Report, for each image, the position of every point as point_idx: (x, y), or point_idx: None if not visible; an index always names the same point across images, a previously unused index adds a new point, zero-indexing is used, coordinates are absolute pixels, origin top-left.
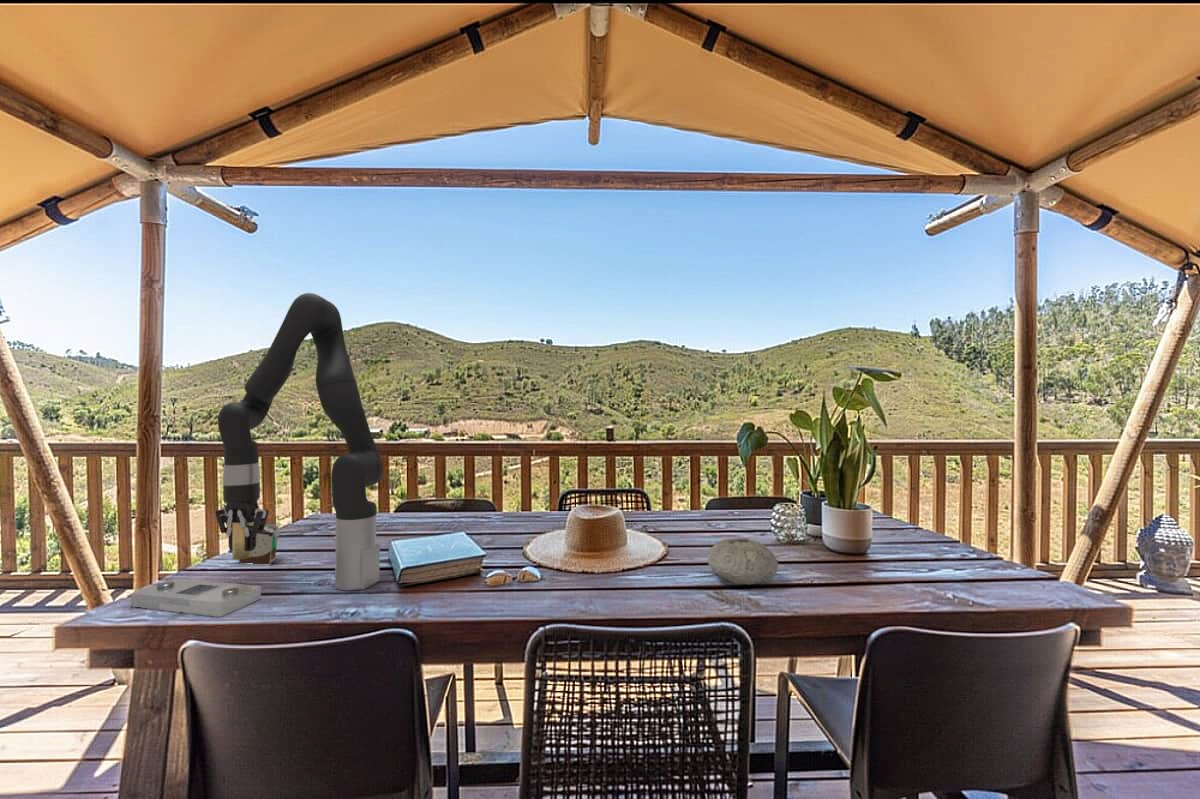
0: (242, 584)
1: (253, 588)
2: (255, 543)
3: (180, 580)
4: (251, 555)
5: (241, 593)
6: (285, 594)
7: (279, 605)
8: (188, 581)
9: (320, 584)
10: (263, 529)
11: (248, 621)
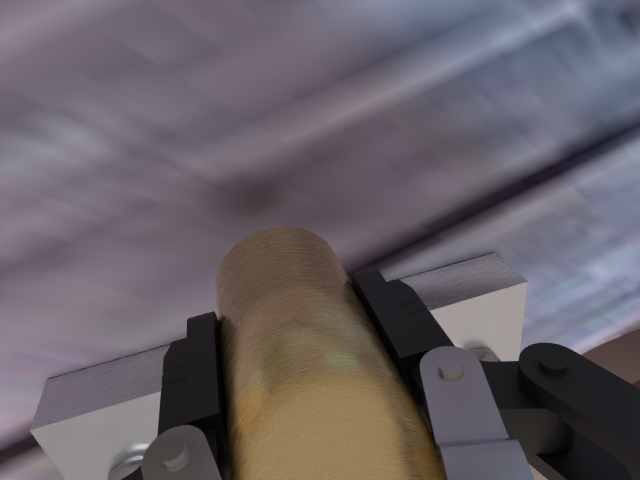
0: (436, 310)
1: (519, 308)
2: (420, 303)
3: (94, 429)
4: (332, 249)
5: (515, 351)
6: (550, 180)
7: (595, 251)
8: (152, 414)
9: (629, 17)
10: (583, 361)
11: (582, 347)
